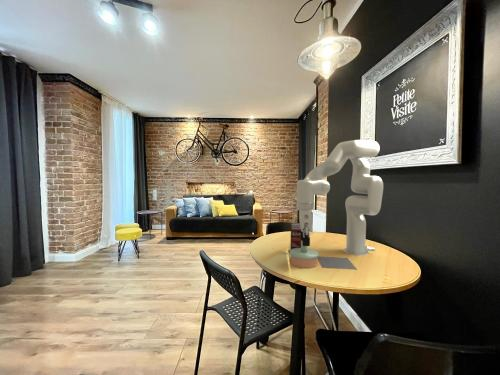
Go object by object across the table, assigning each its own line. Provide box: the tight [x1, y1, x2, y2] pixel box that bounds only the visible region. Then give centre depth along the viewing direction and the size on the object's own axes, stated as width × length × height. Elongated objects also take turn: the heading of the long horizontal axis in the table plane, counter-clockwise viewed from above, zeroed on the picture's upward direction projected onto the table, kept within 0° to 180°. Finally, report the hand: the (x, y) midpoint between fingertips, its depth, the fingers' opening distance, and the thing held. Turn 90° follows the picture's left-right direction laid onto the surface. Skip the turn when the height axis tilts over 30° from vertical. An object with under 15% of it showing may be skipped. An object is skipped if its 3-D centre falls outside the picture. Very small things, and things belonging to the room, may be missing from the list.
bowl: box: [290, 255, 319, 269], centre depth 108 cm, size 12×12×5 cm
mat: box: [318, 256, 358, 271], centre depth 109 cm, size 15×15×1 cm
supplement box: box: [289, 223, 303, 251], centre depth 125 cm, size 9×5×16 cm, turn 83°
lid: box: [289, 241, 320, 259], centre depth 108 cm, size 13×13×6 cm
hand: (305, 242), depth 108 cm, fingers open, 9 cm apart
